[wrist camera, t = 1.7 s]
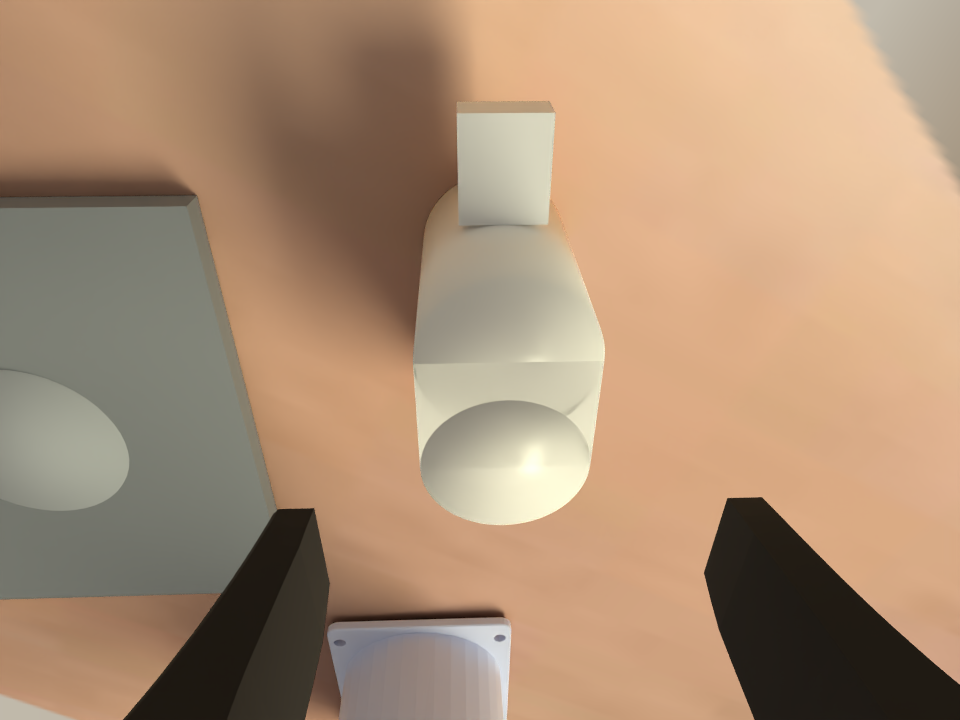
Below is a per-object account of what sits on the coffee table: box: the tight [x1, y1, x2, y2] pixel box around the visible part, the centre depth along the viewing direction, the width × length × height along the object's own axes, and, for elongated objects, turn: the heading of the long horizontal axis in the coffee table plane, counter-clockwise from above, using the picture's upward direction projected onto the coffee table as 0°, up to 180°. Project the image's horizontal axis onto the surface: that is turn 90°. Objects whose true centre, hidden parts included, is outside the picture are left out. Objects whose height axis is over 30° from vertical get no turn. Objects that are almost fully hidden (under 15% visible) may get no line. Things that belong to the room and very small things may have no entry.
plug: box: [413, 101, 605, 525], centre depth 16 cm, size 9×4×6 cm, turn 0°
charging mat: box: [0, 195, 277, 599], centre depth 21 cm, size 16×14×1 cm
